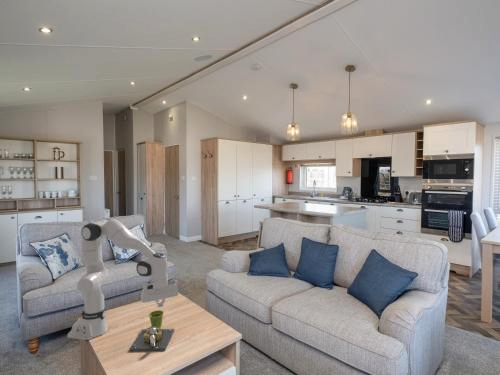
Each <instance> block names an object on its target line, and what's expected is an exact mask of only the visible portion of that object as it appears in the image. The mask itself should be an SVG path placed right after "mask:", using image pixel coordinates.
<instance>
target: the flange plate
mask: <svg viewBox="0 0 500 375" xmlns="http://www.w3.org/2000/svg"><path fill="white" fill-rule="evenodd" d="M147 329H149V333H150V336H151V335H155V336H156V333H157V329H156V327H152V326H150V328H147ZM147 329H142V330H141V331H140V333H139V334H138V335H137V337H136V338H135V340H134V341H133V342H132V344H131V346H130V347H129V352H140V351H141V352H143V351H144V352H146V351H148V352H149V351H153V352H154V351H155V352H157V351H166V350H167V348H168V346H169V344H170V342H171V339H172V337H173V335H174V333H175V329H174V328H164V329H163V328H160V330H161V331H162V338H161V339H160V340H158V341H156V342H155V346H153V347H151V346H150V342H149V343H148V342H145V341H144V333H145V332H146V330H147Z"/></svg>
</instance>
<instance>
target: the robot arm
mask: <svg viewBox="0 0 500 375" xmlns="http://www.w3.org/2000/svg"><path fill="white" fill-rule="evenodd" d="M80 233H81V238H82V239H81V260H82V261H81V262H82V264H83V265H84V266H85V268H86V274H84V275H82V276H81V277H80V279H79V280H78V282H77V284H76V289H77V290H78V292H79V293H81V295H82V297H83V303H84V310H83V311H82V312H81V313H80V318H79V319H77V321H75V322H74V323H73V324H72V327H71V330H70V331H69V332H68V333H67V334H66V336H67V337H66V338H67V339H74V340H75V339H76V340H84V341H85V340H87V341H89V340H91V339H94V338H95V337H97V338H98V337H99V336H102V335H104V334H105V333H107V331H109V327H108V324H107V321H106V313H107V312H106V307H105V295H104V294H103V293H102V290H101V286H102V284H104V283H105V282H106V280H107V278H108V277H109V270H108V269H107V268H106V267H105V264H104V261H103V251H102V250H103V248H102V247H103V246H102V240H104V239H105V238H108V239H109V240H110V242H111V243H112V244H113V245H114V246H115V247H117V248H118V249H121V250H135V251H138V252H140V254H142V255H143V256H144V257H145V258H144V259H141V260H139V261H138V262H137V264H136V272H137V274H138V275H139V276H140V277H151V278H150V279H149V280H148V281H145V282H143V284H142V285H143V286H142V287H143V288H142V289H141V294H140V295H141V296H140V300H141V303H143V304H145V303H150V302H155V304H156V305H157V308H162V307H164V303H165V302H166V299H170V298H174V297H178V296H179V288H178V286H179V281H178V280H177V279H173V280H169V274H168V270H169V266H168V258H167V256H166V254H164V253H162V252H157V251H156V250H154V249H153V248H152V247H151V246H150V245H149V244H147V243H146V241H144V240H143V239H142V238H140V237H139V236H137V235H135V234H134V233H132V231H131V230H129V229H128V228H127V226H125V225H124V224H123V223H122V222H121V221H119V220H118V219H117V218H110V219H102V220H98V221H93V222H89V223H86V224H84V225H83V226H82V227H81V232H80ZM161 300H162V301H161ZM160 301H161V302H160Z"/></svg>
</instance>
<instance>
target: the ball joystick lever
mask: <svg viewBox="0 0 500 375" xmlns="http://www.w3.org/2000/svg"><path fill="white" fill-rule="evenodd" d="M156 329H157V333H156V336H155V335H151V336H150V333H149V328H147V330H146V332H145V333H144V341H145V342H148V343H149V342H150V346H151V347H153V346H155V342H156V341H158V340H160V339H161V338H162V331H161V330H160V329H161V327H160V328H159V327H158V328H156Z"/></svg>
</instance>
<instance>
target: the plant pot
mask: <svg viewBox="0 0 500 375" xmlns="http://www.w3.org/2000/svg"><path fill="white" fill-rule="evenodd" d="M164 314H165V312H164V311H163V310H158V309H156V310H153V311H151V312H149V314H148V317H149V321H150V325H151V326H150V327H156V328H158V327H159V328H160V329H161V328H162V322H163V317H164Z"/></svg>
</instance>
